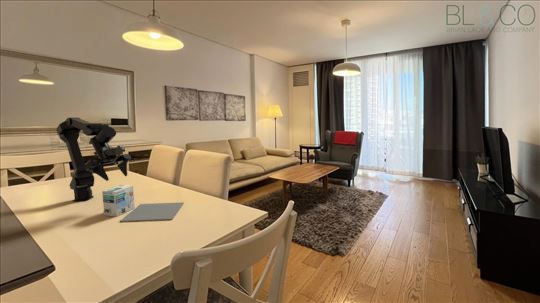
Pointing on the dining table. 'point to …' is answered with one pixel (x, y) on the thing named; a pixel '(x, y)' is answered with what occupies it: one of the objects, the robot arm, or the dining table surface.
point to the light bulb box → (118, 200)
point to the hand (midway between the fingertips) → (117, 178)
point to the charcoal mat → (153, 212)
